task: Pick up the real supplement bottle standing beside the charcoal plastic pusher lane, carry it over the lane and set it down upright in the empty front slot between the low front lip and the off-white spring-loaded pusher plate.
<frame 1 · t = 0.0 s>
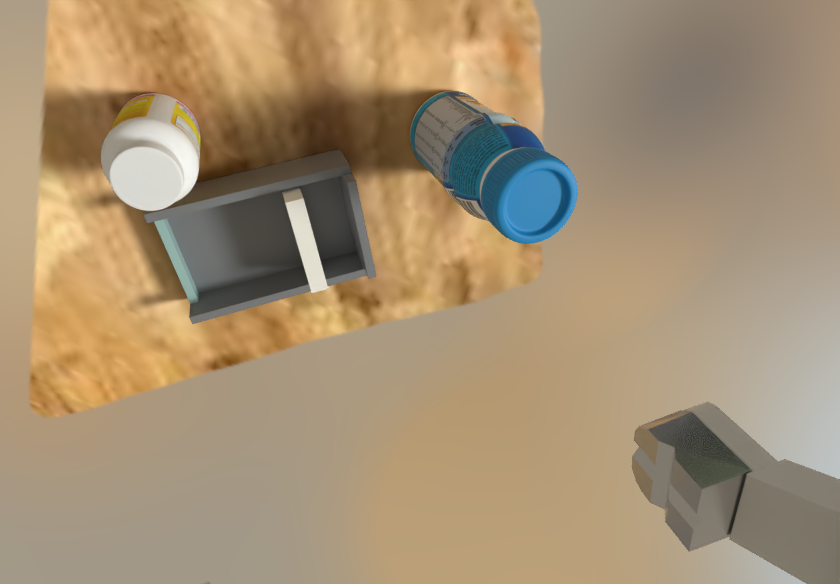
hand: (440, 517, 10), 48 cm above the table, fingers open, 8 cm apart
pusher lane: (264, 225, 57), on the table
pusher plate: (303, 234, 54), point 4 cm above the table, slide at 0.0 cm
supplement bottle: (160, 130, 50), on the table
beverage bottle: (446, 130, 58), on the table
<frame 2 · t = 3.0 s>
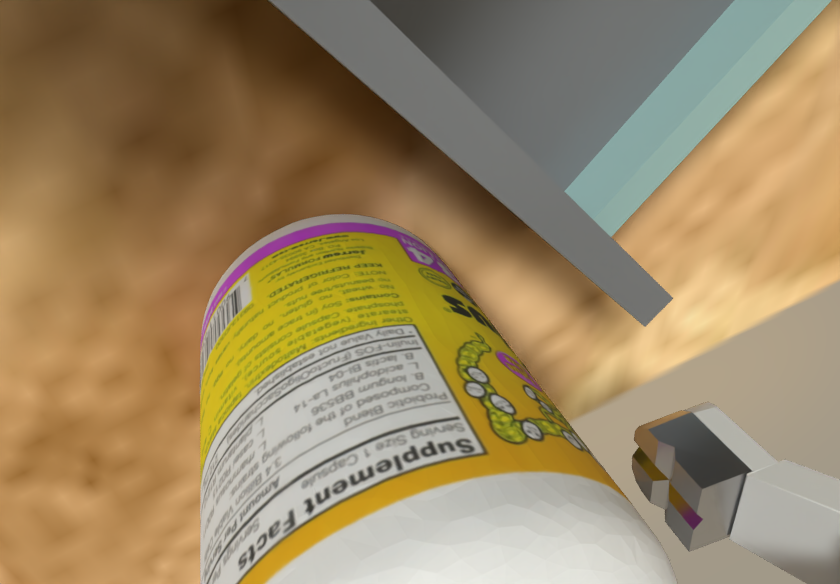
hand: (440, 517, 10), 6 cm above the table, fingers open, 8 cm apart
supplement bottle: (331, 314, 15), on the table
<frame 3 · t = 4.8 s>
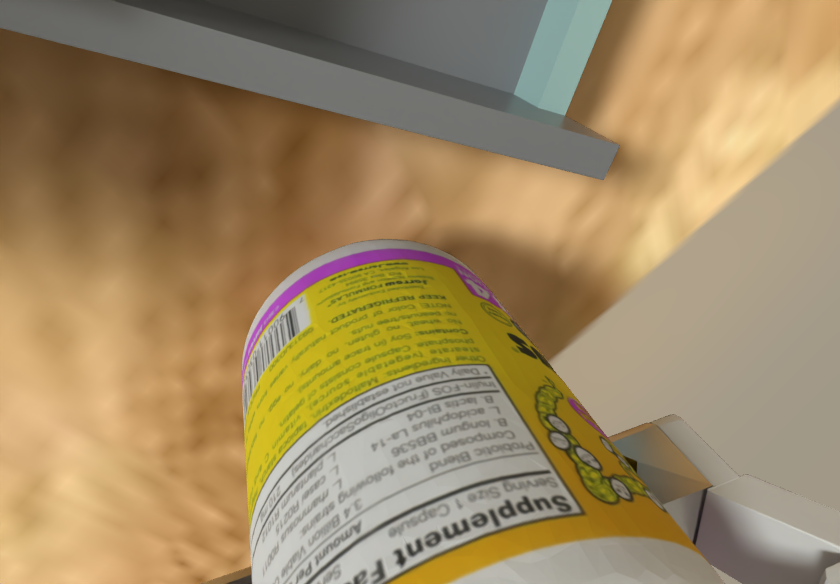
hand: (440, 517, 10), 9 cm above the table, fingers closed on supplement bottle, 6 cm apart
supplement bottle: (370, 338, 15), point 3 cm above the table, touching gripper
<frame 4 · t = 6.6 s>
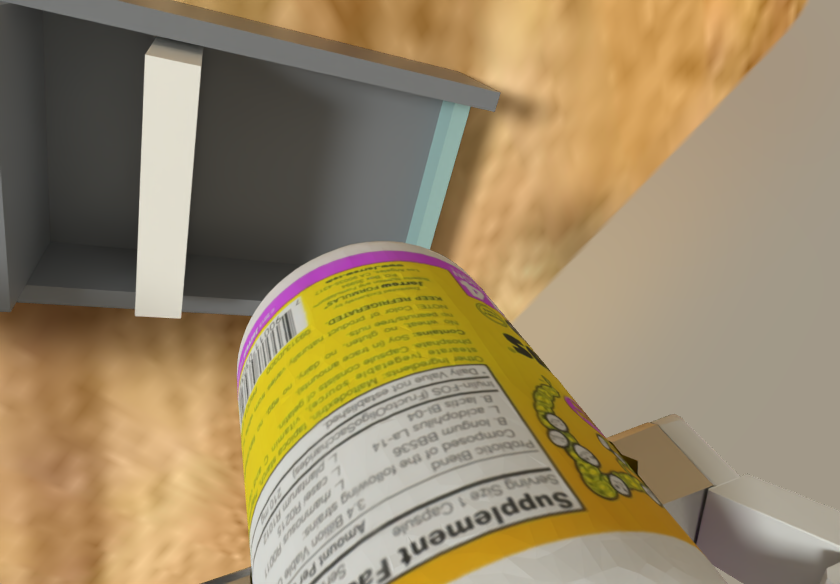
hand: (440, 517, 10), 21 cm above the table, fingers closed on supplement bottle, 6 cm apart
pusher lane: (254, 155, 27), on the table
pusher plate: (170, 174, 22), point 4 cm above the table, slide at 0.0 cm
supplement bottle: (364, 340, 15), point 15 cm above the table, touching gripper
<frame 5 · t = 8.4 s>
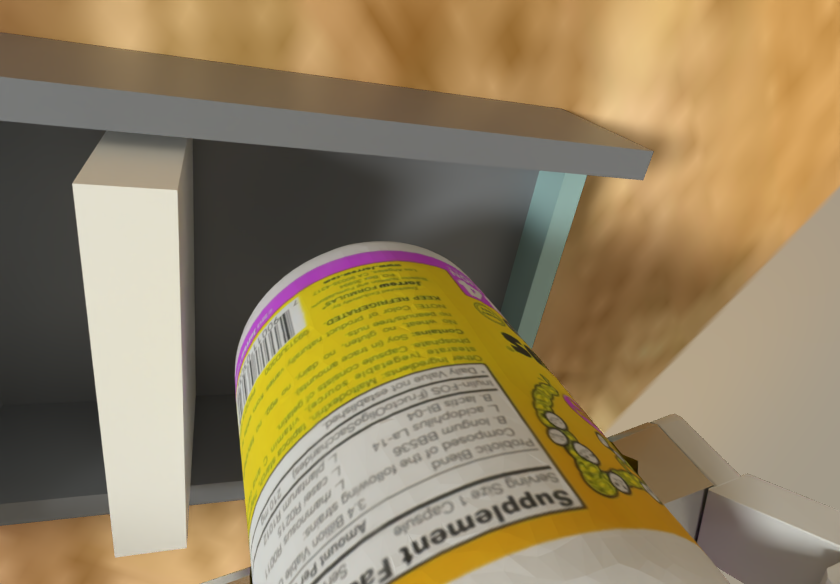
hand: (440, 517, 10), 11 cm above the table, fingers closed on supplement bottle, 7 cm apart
pusher lane: (279, 254, 19), on the table
pusher plate: (155, 325, 14), point 4 cm above the table, slide at 0.0 cm
supplement bottle: (362, 340, 15), point 5 cm above the table, touching gripper
when the fingers open (8 cm above the table, at t = 9.8 s): supplement bottle stays where it is, resting on pusher lane.
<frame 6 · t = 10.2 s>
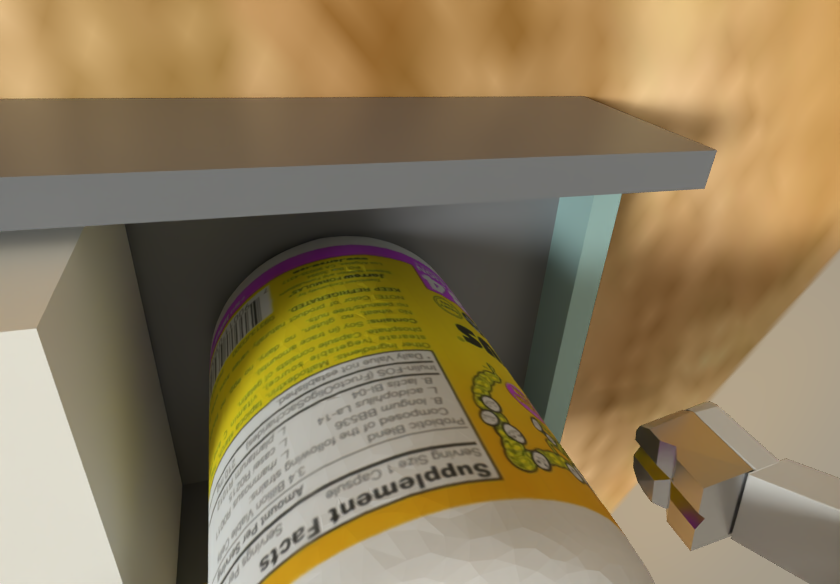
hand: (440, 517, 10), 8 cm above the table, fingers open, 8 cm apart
pusher lane: (259, 313, 16), on the table
pusher plate: (95, 446, 11), point 4 cm above the table, slide at 0.0 cm
supplement bottle: (336, 331, 16), point 1 cm above the table, touching gripper, pusher lane
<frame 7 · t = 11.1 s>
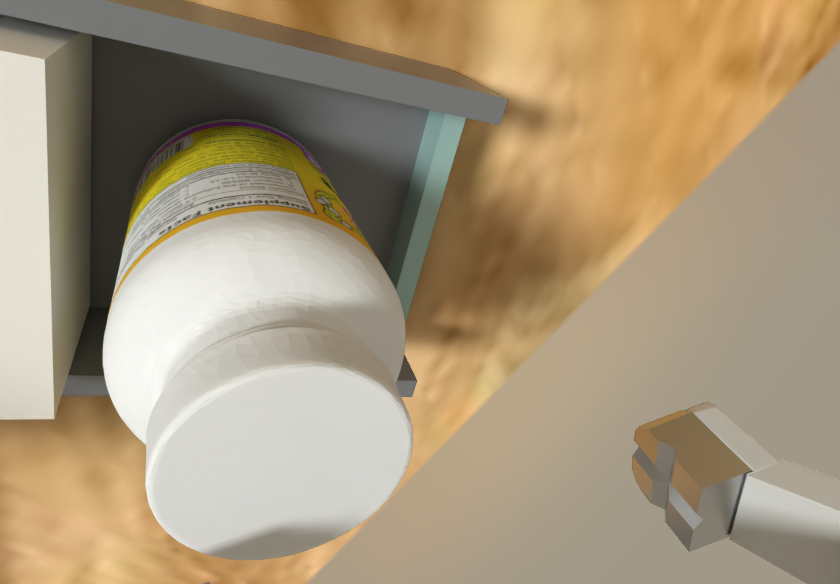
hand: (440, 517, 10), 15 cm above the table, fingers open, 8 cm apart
pusher lane: (179, 178, 20), on the table
pusher plate: (39, 212, 16), point 4 cm above the table, slide at 0.0 cm
supplement bottle: (238, 204, 21), point 1 cm above the table, touching pusher lane
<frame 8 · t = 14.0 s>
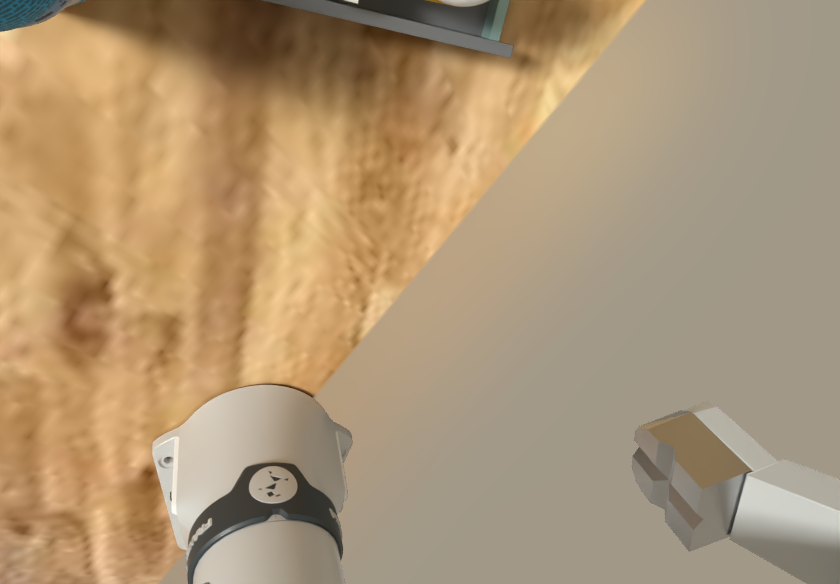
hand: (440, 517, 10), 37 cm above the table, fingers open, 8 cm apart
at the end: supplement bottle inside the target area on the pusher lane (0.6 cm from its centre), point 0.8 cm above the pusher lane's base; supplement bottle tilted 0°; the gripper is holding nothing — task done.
